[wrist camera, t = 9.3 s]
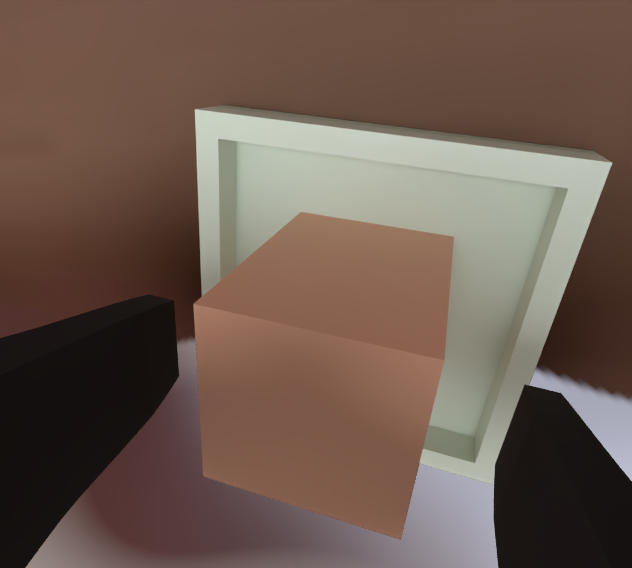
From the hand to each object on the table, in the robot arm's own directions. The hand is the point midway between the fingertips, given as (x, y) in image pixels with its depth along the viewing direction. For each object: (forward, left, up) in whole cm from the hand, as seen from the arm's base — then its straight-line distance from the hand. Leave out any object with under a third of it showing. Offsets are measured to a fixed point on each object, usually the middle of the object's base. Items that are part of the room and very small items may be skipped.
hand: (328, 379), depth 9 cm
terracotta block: (0, 0, -4) cm, 4 cm away
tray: (0, 0, -4) cm, 4 cm away
